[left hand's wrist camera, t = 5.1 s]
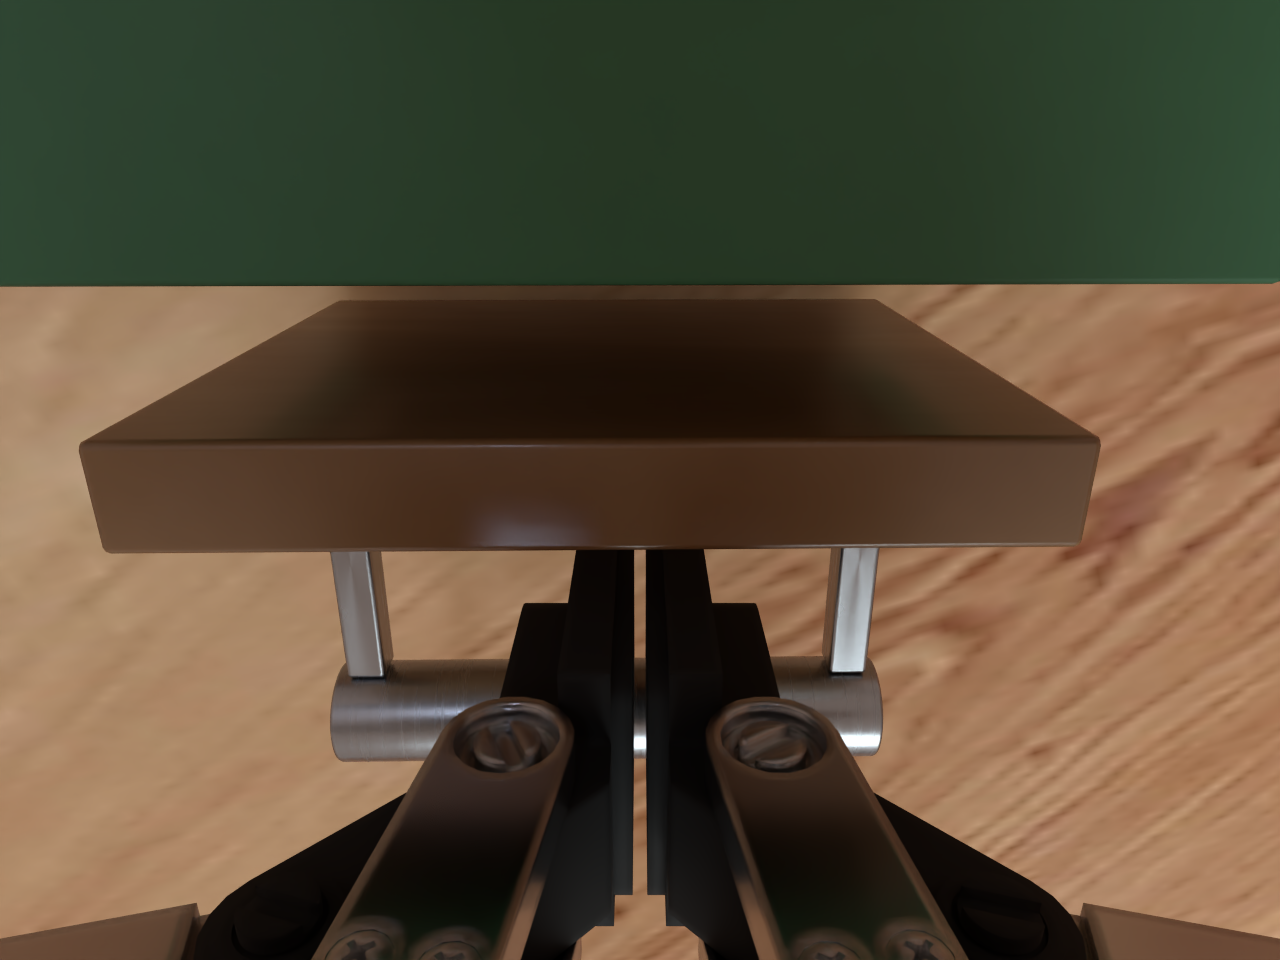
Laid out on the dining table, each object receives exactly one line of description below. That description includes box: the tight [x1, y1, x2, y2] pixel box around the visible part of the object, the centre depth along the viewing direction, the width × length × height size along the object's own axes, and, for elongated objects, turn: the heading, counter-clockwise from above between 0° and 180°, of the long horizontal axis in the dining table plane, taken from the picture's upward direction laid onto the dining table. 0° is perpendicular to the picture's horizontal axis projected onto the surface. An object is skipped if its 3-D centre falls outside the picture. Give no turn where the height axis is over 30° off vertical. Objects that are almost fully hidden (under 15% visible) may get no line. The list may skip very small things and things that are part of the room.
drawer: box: [79, 299, 1101, 762], centre depth 11 cm, size 20×10×8 cm, turn 0°
